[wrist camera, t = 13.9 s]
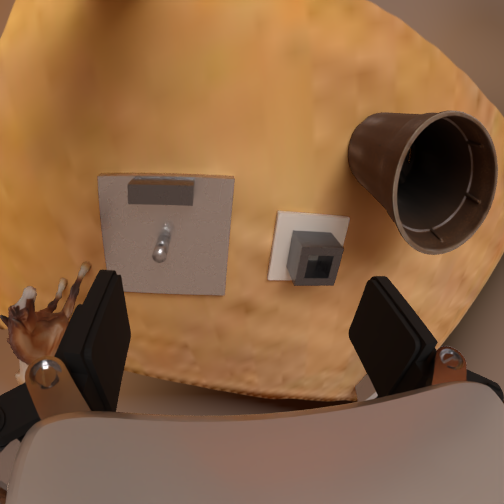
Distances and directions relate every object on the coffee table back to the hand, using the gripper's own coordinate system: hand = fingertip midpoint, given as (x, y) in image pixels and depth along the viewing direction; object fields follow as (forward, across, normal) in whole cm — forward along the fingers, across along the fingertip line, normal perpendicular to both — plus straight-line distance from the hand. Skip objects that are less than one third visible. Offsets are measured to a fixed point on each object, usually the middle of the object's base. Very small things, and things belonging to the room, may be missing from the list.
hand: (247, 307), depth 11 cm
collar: (+30, -14, +13) cm, 35 cm away
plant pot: (+31, -23, -3) cm, 38 cm away
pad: (+30, -14, +13) cm, 36 cm away
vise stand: (+30, +7, +12) cm, 33 cm away
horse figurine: (+31, +29, +25) cm, 49 cm away
